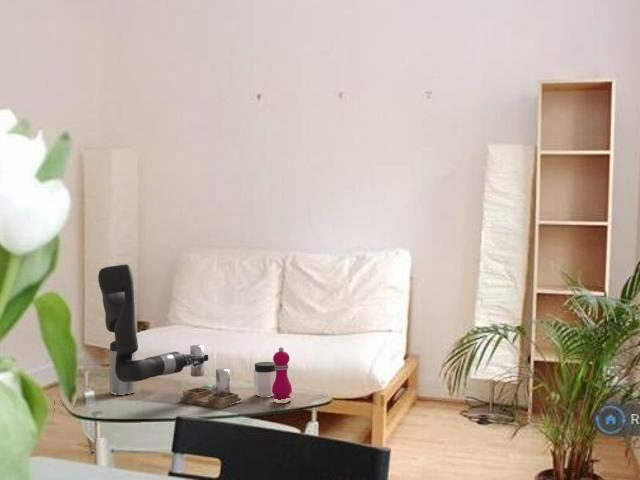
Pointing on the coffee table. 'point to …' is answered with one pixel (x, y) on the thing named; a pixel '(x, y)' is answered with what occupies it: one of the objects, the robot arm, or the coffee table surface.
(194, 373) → the cylinder
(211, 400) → the wooden tray
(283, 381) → the pepper mill
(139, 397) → the coffee table surface
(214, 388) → the grey square box
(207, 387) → the button
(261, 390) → the jar
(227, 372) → the seated billet
